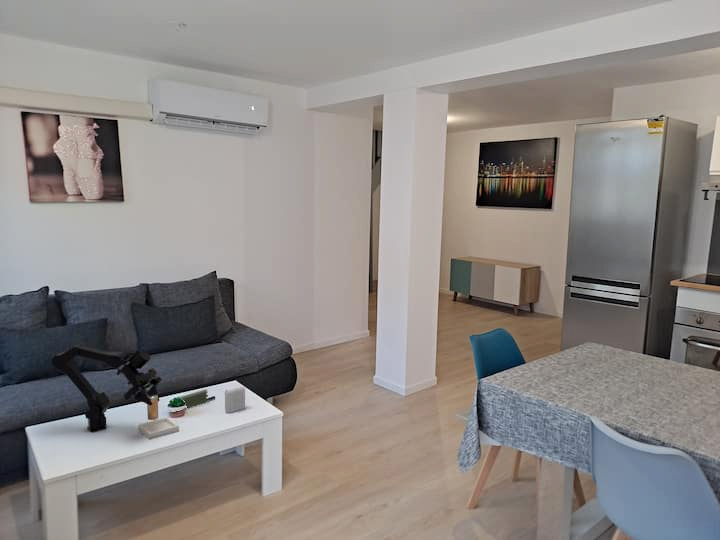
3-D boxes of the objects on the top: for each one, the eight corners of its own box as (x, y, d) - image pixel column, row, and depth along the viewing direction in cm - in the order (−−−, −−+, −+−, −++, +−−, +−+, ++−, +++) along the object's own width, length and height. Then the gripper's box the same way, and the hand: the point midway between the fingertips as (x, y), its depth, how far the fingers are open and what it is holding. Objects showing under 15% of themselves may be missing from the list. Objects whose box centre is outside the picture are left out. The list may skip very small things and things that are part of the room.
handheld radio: (169, 412, 258) (212, 398, 277) (173, 414, 256) (216, 400, 275) (169, 399, 257) (212, 386, 276) (173, 401, 255) (216, 388, 274)
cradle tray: (149, 439, 227) (149, 433, 226) (138, 429, 236) (138, 424, 236) (178, 431, 235) (178, 425, 235) (167, 422, 245) (166, 417, 245)
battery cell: (151, 420, 230) (151, 398, 228) (145, 418, 232) (144, 396, 231) (160, 417, 233) (159, 395, 232) (154, 415, 236) (153, 393, 235)
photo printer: (241, 406, 266) (241, 382, 265) (246, 408, 263) (246, 384, 262) (223, 411, 259) (223, 387, 258) (228, 414, 256) (227, 389, 255)
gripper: (128, 370, 222) (151, 398, 220) (157, 358, 240) (179, 385, 238) (113, 386, 225) (136, 414, 223) (143, 374, 243) (164, 399, 241)
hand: (155, 402), depth 231 cm, fingers closed on battery cell, 4 cm apart
